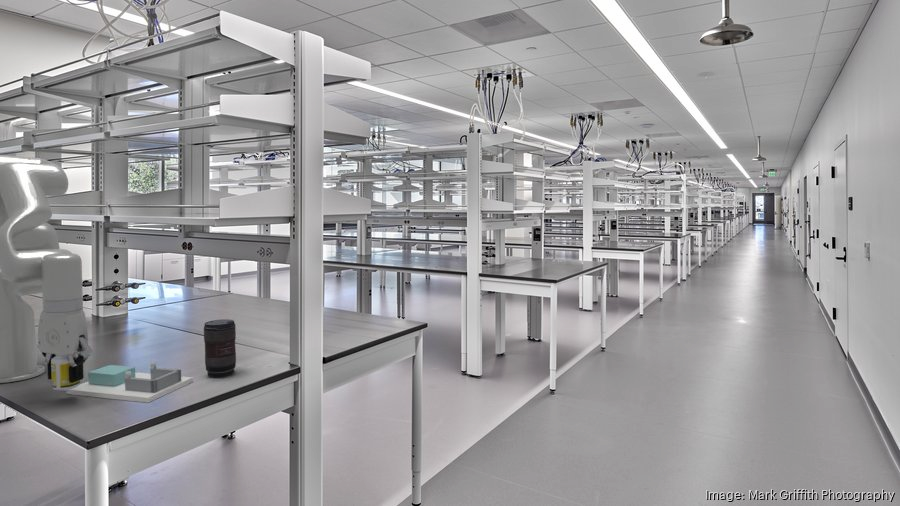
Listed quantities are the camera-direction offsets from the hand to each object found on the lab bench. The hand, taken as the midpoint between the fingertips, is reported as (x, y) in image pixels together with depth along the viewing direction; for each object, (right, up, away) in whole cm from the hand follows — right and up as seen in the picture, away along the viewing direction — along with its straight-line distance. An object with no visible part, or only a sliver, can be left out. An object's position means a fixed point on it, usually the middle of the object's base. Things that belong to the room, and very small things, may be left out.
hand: (65, 378), depth 121 cm
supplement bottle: (0, -2, 0) cm, 2 cm away
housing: (+4, -3, +10) cm, 12 cm away
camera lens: (+28, -4, +20) cm, 35 cm away
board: (+10, -5, +9) cm, 14 cm away
